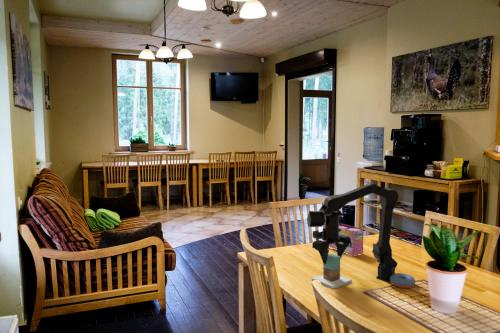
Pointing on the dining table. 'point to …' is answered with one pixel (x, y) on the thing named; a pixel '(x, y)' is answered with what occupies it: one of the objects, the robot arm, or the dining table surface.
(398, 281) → the doughnut
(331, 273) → the walnut block
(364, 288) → the dining table surface
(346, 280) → the white square plate
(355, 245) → the gum box
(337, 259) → the teal block
